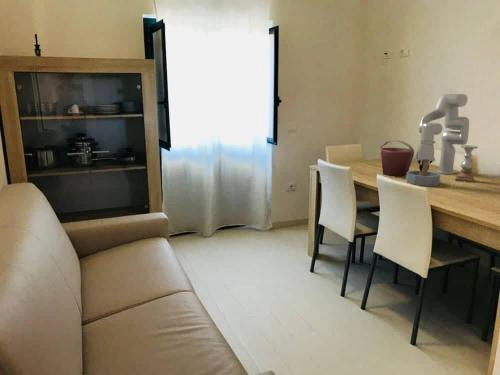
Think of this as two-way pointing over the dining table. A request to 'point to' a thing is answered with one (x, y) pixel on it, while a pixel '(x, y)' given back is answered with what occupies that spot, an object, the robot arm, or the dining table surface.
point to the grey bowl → (423, 178)
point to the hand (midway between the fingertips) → (423, 170)
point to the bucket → (396, 160)
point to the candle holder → (466, 165)
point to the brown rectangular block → (424, 168)
